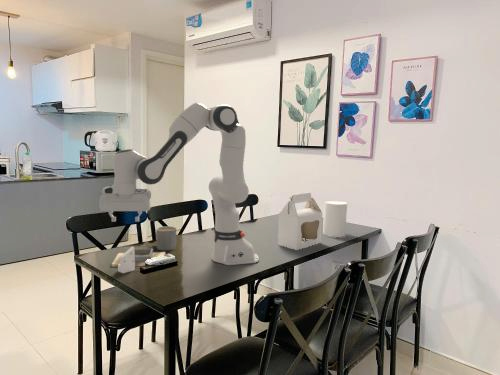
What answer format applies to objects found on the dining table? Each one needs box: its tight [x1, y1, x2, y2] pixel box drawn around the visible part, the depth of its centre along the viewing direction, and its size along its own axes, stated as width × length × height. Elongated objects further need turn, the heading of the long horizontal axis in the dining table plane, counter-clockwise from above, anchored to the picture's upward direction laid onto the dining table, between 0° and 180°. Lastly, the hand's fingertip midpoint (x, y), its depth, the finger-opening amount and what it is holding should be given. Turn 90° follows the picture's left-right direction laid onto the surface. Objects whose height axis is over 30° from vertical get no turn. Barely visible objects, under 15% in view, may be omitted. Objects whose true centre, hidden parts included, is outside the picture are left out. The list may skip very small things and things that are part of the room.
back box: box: [135, 248, 154, 262], centre depth 173 cm, size 11×12×2 cm
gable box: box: [277, 192, 323, 251], centre depth 206 cm, size 22×13×28 cm, turn 135°
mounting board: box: [111, 251, 166, 268], centre depth 174 cm, size 22×16×1 cm
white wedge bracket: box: [117, 246, 136, 274], centre depth 161 cm, size 4×10×9 cm
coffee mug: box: [155, 225, 177, 251], centre depth 195 cm, size 13×10×10 cm
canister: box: [322, 200, 348, 238], centre depth 229 cm, size 14×14×20 cm
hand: (125, 221), depth 158 cm, fingers open, 8 cm apart
